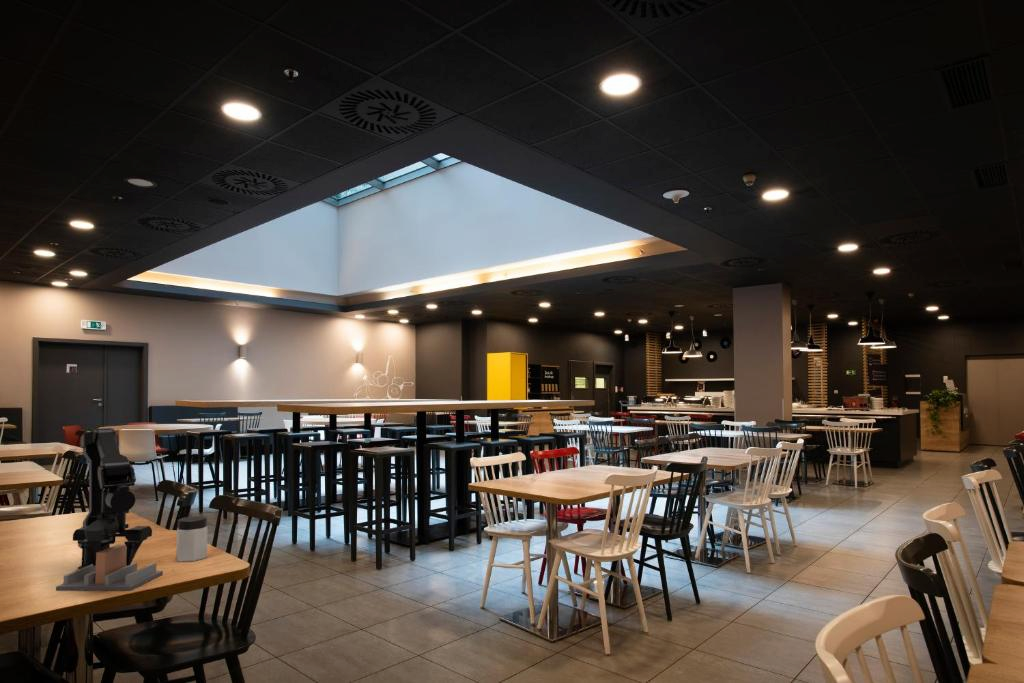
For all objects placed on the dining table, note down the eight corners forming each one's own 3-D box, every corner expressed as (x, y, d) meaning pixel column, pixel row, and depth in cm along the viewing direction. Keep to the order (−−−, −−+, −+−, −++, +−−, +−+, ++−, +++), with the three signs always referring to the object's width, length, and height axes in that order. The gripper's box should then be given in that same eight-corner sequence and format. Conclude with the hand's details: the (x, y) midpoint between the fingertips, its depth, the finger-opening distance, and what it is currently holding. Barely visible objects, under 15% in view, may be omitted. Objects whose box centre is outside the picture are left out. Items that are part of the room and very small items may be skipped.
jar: (194, 553, 201) (195, 514, 202) (213, 555, 197) (214, 516, 198) (169, 560, 193) (170, 520, 193) (187, 563, 189) (189, 522, 190)
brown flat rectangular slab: (95, 583, 167) (96, 552, 167) (117, 573, 176) (118, 544, 176) (104, 583, 167) (105, 552, 167) (126, 573, 176) (127, 544, 176)
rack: (55, 590, 165) (56, 576, 165) (93, 574, 179) (93, 561, 179) (131, 590, 164) (131, 576, 164) (162, 574, 178) (162, 561, 178)
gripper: (58, 513, 165) (55, 574, 164) (128, 513, 164) (126, 574, 163) (88, 505, 176) (86, 562, 175) (154, 505, 175) (152, 562, 174)
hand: (111, 565), depth 172 cm, fingers open, 9 cm apart
